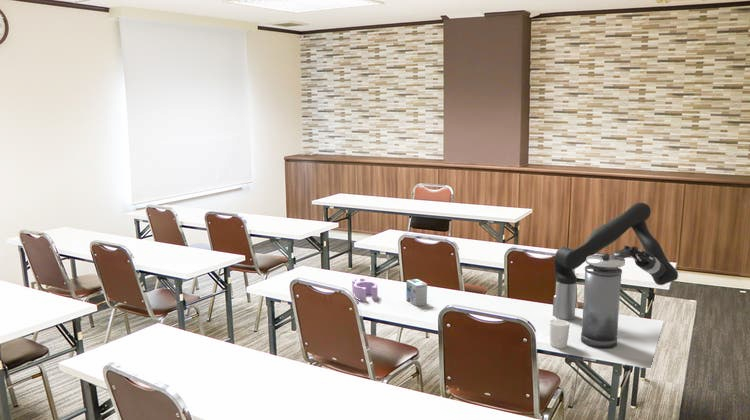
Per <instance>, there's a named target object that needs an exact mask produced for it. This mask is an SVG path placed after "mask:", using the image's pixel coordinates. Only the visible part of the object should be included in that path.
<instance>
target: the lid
mask: <svg viewBox="0 0 750 420" xmlns="http://www.w3.org/2000/svg"><path fill="white" fill-rule="evenodd" d="M631 247H635V248H636V249H637V250H639V247H638V246H629V248H626V249H624V248H622V249H619V250H616V251H614V252H613V254H614V255H613V254H610V253H601V254H600V253H599V254H598V253H596V254H594V255H591V256H588V257H587V258H586V261H585V263H586V264H587V265H591V266H595V267H600V268H623V267H624V266H625V265H626V259H627V258H629V257H630V256H634V255H635V254H633V253H632V252H631V251H630V249H631ZM630 258H631V257H630Z"/></svg>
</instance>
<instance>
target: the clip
mask: <svg viewBox="0 0 750 420" xmlns="http://www.w3.org/2000/svg"><path fill="white" fill-rule="evenodd" d="M351 281H352V283H351V285H352V287H351V288H352V289H351V290H352V292H353V293H352V294H353V295H354V294H355V296H356V297H357V298H358V300H357V301H361V300H363V301H365V302H366V301H367V295H370V294H372V295H371V300H372V299H374V300H373V301H378V283H377V282H375V281H369V280H368V279H367V278H364V277H360V281H359V280H358V281H357V278H352V280H351ZM359 299H360V300H359ZM363 301H362V302H363Z"/></svg>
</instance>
